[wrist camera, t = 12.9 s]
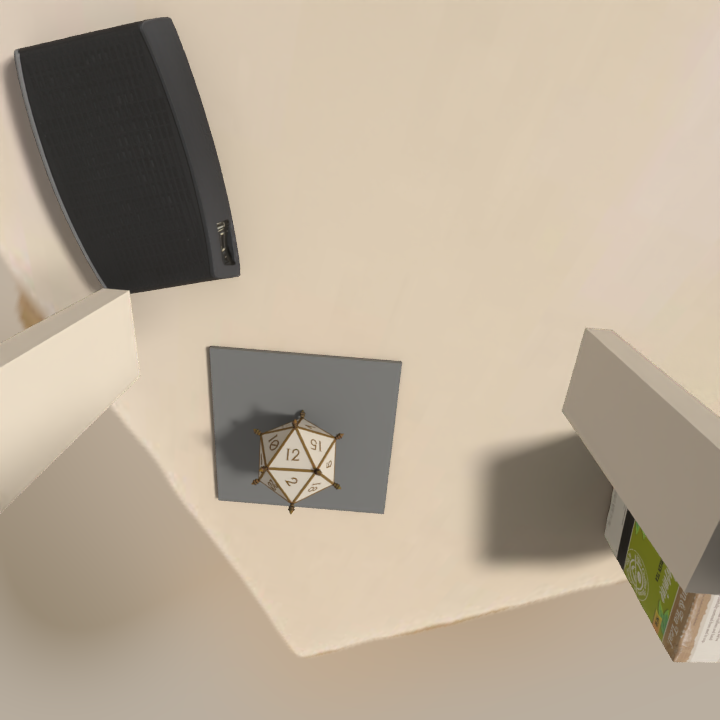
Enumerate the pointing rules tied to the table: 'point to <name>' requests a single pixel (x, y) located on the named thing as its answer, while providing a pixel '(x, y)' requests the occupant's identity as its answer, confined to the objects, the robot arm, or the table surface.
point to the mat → (322, 407)
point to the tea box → (664, 592)
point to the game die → (297, 460)
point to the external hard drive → (131, 155)
